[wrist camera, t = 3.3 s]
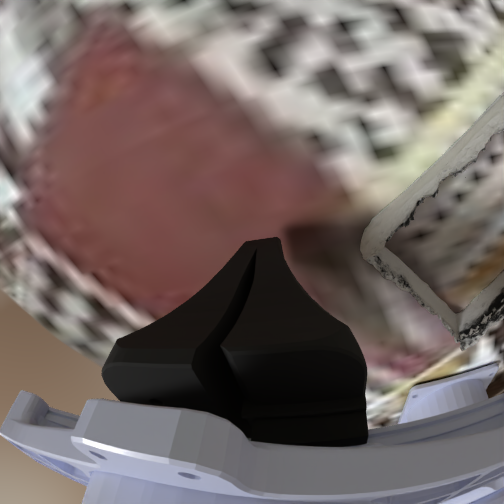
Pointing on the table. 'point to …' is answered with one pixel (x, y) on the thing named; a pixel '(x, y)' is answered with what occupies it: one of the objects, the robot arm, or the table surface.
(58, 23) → the table surface
